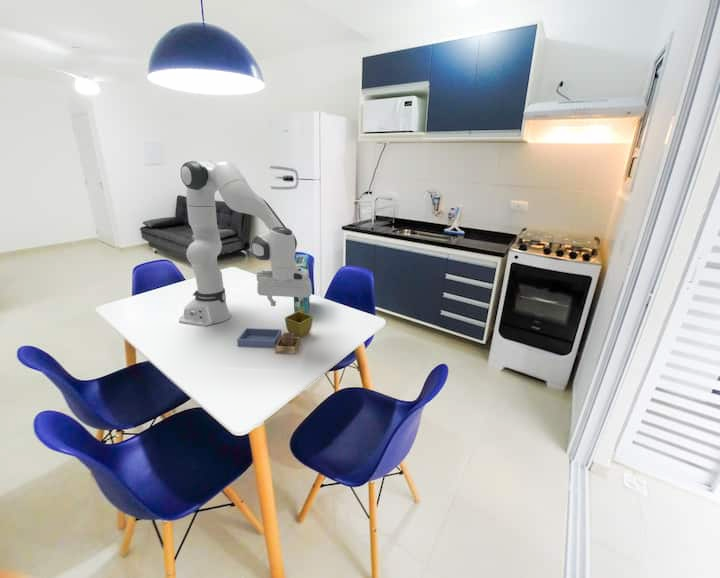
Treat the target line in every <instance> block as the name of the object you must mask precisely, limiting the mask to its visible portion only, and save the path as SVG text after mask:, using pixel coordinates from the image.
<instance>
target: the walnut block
mask: <svg viewBox="0 0 720 578" xmlns="http://www.w3.org/2000/svg"><path fill="white" fill-rule="evenodd" d="M282 346H291V347H294V346H295V345H294V333H289V332H283V334H282Z"/></svg>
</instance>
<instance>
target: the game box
mask: <svg viewBox="0 0 720 578" xmlns="http://www.w3.org/2000/svg"><path fill="white" fill-rule="evenodd" d="M309 260H310V259H309V254H295V262H296V266H298V267H300V268H303V269H306V270H308V277H309V278H310V273H309V272H310V271H309V269H310V268H309V265H310V264H309V263H310V262H309ZM299 300H300V299H299ZM299 300H298V297H293V313H295V312H298V311H299V312H302V313H305V314H308V313H309V308H310V297H309V298H305V297H303V298H302V300H301V302H300V307H299V308H297V307H295V306H296V305H295V303H296V302H298V301H299ZM308 315H309V314H308Z"/></svg>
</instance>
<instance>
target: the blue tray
mask: <svg viewBox="0 0 720 578" xmlns="http://www.w3.org/2000/svg"><path fill="white" fill-rule="evenodd" d="M281 336H283V334H282V329H276V328H252V327H251V328H250V327H246V328H245V329H244V330H243V332H241V334H240V336H239V337H238V338H237V339H236V342H237V347H244V348H245V347H246V348H266V349H269V348H270V349H275V346H276V344H277V342H278V340H279V338H280V337H281Z"/></svg>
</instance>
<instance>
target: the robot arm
mask: <svg viewBox="0 0 720 578" xmlns="http://www.w3.org/2000/svg"><path fill="white" fill-rule="evenodd" d="M180 178H181V181H182V183H183V184H184V186H185V187H186V198H185V199H186V208H187V219H188V224H189V227H191V231H192V233H193V237H194V240H193V241H192V242H191V243H190V244H189V245H188V247H187V249H186V258H187V261H188V262H189V263H190V264H191V267H192V270H193V273H194V276H195V280H196V281H195V282H196V287H197V290H195V291H194V292H193V294H192V297H194V299H192V300H191V301H190V302H189V303H187V304H186V305H185V306H184V307H183V314H182V315H180V317H179V319H178V322H179V323H183V324H189V325H196V326H202V327H208V326H212V325H214V324H219V323H222V322H225V321H227V320H229V319H230V317H231V313H230V310H229V308H228V304H227V301H226V300H227V297H226V296H227V295H226V289H225V288H224V281H223V279H224V278H223V272H222V271H221V269H220V266H219V263H218V256H219V255H220V253H221V252H222V249H223V244H222V243H223V242H222V240H221V236H220V230H219V227H218V221H217V208H216V198H215V194H216V192H217V191H218V193H219V194H220V196H221V198H222V199H223V202H224V203H225V204H226V206H227V207H228V208H229V209H231V210H232V211H235V212H237V213H241V214H247V215H250V216H254V217H256V218H258V219H259V220H261V221H262V222H263V223H264V224H265V226H266V228H267V229H268V230H269V231H267V232H265V233H262V234H258V235H256V236H254V237H253V238H252V240H251V245H250V247H251V249H250V250H251V253H252V255H253V257H255V258H256V259H257V260H260V261H270V262H271V263H270V264H271V266H270V268H271V270H267V271H266V270H261V271H258V272H257V273H256V281H257V289H256V291H257V294H258V296H266V297H267V300H268V301H269V302H270V307H275V306H276V305H277V301H276V300H274V299H273V297H286V298H287V297H289V298H294V297H298V300H299V299H300V300H299V301H298V302H296V303H295V305H296V306H295V307H297V308H299V307H300V302H301V300H302V298H303V297H305V298H309V299H310V297H311V296H312V294H313V289H312V288H313V286H312V280H311V279H310V276H309V277H308V270H306V269H303V268H300V267H298V266H296V262H295V258H296V250H297V245H298V241H297V238H296V236H295V234H294V233H293V231H292V230H291V229H290V228H288V227H287V226H285V224H284V223H283V222H282V219H280V217H279V216H278V215H277V213H276V212H275V210H274V209H273V208H272V207H271V205H270V204H269V203H268V202H267V201H266V200H265V199H264V198H262V197H260V195H259V194H257V193H256V192H255V191H254V190H253V189H252V187H251V186H250V185H249V183H248V182H247V180H246V178H245V176H244V175H243V173H241V171H240V170H239V168H237V166H236V165H235V164H233V162H230V161H226V160H225V161H223V160H222V161H220V162H219V161H212V160H208V161H205V160H202V161H194V160H192V161H187V162H184V163H183V164H182V166H181V169H180Z"/></svg>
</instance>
